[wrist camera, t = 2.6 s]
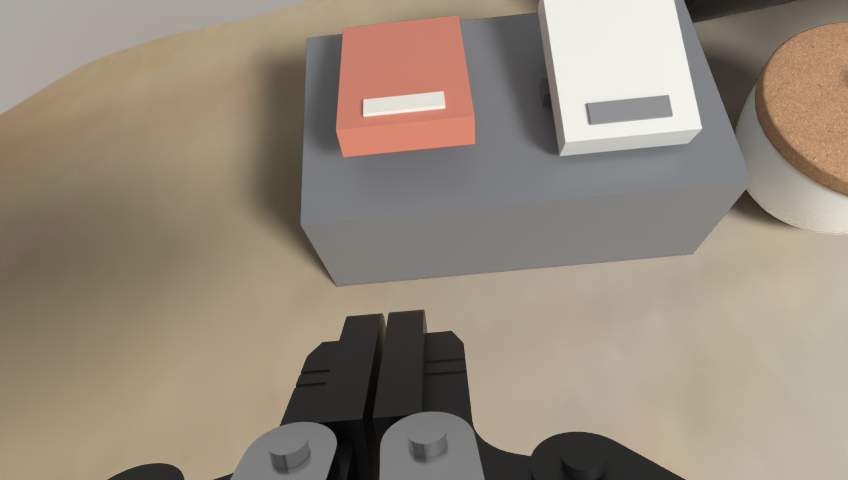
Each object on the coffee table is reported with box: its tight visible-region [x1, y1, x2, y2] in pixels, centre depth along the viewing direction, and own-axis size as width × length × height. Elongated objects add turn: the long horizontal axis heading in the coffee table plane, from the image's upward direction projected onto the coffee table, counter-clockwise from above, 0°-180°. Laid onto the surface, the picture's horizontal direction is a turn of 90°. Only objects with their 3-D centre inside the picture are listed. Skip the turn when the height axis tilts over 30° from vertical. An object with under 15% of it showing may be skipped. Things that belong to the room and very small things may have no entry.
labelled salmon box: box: [336, 15, 475, 157], centre depth 28 cm, size 6×8×2 cm
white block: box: [538, 0, 702, 156], centre depth 27 cm, size 6×8×2 cm
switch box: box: [300, 0, 752, 286], centre depth 32 cm, size 21×12×9 cm, turn 94°
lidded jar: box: [735, 22, 848, 234], centre depth 31 cm, size 11×11×9 cm
